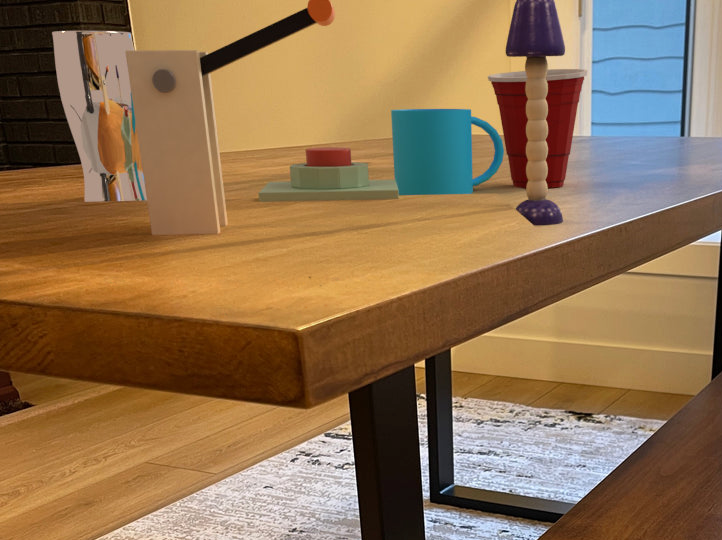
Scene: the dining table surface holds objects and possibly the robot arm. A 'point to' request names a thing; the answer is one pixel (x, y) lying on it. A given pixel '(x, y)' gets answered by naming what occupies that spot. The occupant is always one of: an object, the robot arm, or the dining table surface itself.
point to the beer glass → (101, 112)
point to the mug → (438, 151)
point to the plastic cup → (559, 119)
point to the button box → (329, 185)
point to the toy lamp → (536, 97)
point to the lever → (269, 35)
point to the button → (328, 157)
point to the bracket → (177, 141)
